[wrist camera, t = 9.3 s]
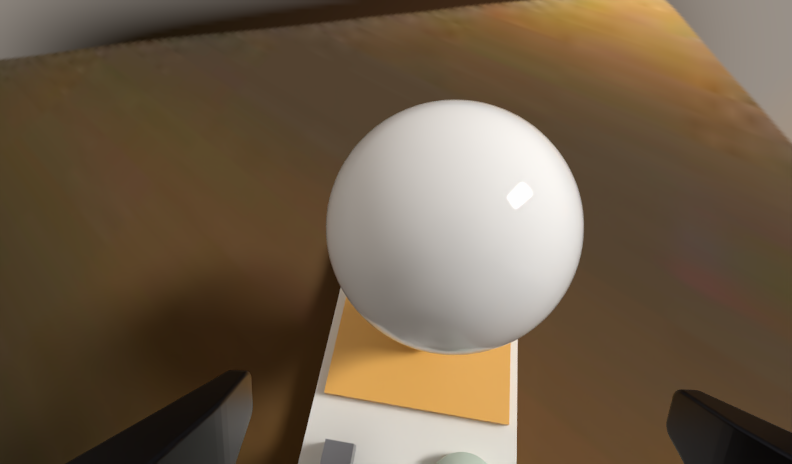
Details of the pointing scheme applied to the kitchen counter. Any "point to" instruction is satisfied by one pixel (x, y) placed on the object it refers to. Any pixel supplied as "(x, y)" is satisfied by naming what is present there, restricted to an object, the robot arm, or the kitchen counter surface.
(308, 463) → the control panel
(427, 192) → the lightbulb
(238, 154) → the kitchen counter surface
